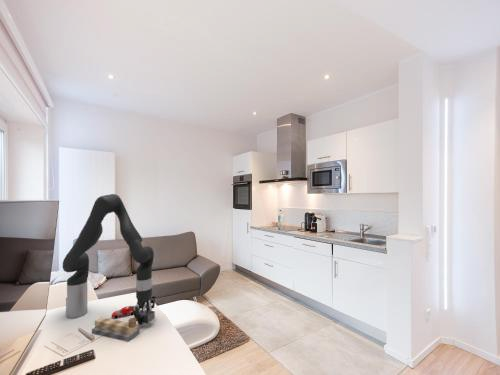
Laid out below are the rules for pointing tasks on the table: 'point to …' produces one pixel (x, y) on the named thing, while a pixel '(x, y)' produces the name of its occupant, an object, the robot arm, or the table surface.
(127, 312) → the race car
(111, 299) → the table surface
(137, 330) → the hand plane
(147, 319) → the grey rectangular box
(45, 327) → the table surface
